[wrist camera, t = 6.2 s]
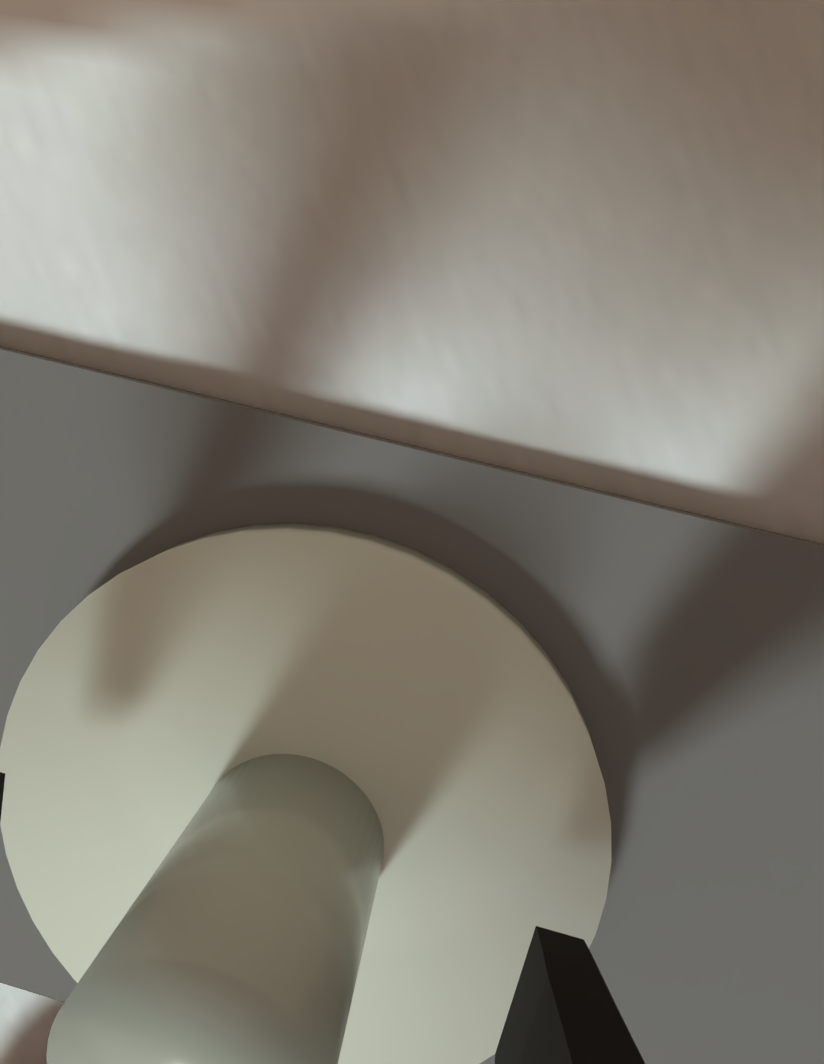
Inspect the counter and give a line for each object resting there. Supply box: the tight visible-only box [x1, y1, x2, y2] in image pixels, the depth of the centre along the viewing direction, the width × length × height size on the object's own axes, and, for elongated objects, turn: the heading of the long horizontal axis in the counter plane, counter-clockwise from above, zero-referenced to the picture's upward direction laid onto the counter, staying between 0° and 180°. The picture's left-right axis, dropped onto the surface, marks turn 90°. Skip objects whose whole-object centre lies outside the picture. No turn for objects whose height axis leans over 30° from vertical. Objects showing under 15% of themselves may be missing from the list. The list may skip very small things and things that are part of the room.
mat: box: [0, 346, 824, 1064], centre depth 12 cm, size 18×12×1 cm, turn 77°
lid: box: [0, 523, 612, 1064], centre depth 9 cm, size 10×10×5 cm
